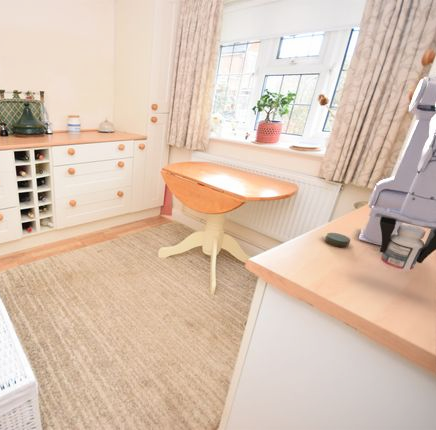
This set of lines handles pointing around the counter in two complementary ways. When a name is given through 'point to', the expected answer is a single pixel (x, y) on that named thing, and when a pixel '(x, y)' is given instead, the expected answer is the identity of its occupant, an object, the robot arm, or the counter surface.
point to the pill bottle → (404, 248)
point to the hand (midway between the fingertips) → (399, 255)
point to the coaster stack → (337, 240)
